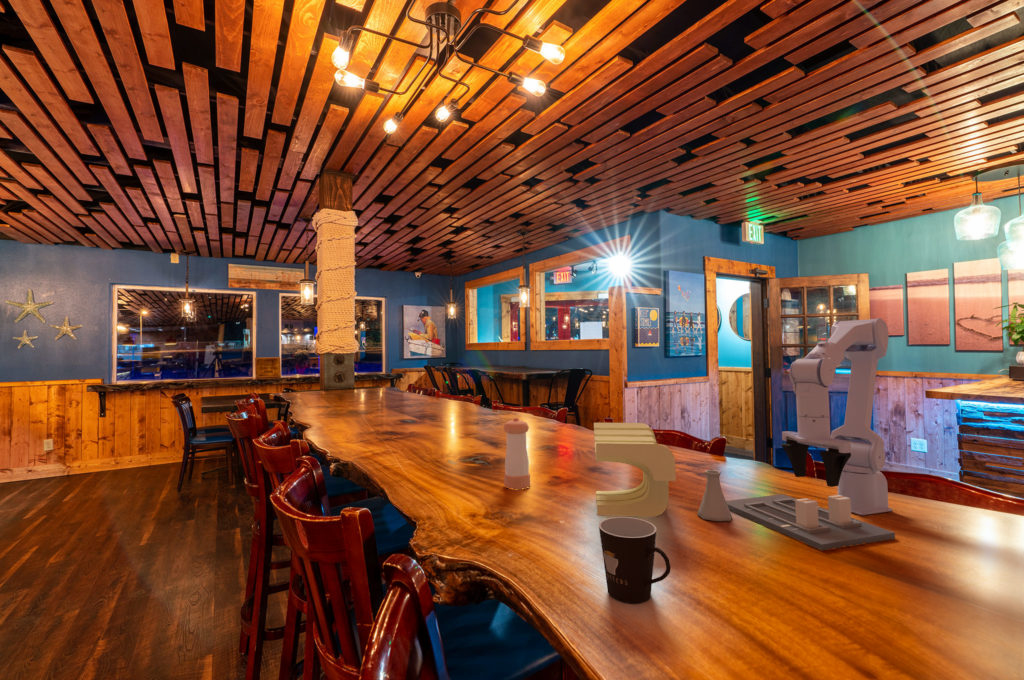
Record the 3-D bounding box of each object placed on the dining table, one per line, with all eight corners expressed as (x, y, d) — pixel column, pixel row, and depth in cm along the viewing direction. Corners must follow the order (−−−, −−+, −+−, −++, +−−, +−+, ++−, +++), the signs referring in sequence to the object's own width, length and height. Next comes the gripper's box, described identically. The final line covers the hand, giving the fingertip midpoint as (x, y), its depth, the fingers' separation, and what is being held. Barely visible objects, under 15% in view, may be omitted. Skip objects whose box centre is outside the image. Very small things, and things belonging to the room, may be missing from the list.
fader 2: (840, 519, 96) (839, 494, 96) (851, 523, 93) (850, 497, 93) (828, 520, 95) (827, 495, 95) (840, 524, 92) (838, 499, 93)
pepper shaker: (530, 490, 125) (529, 419, 126) (503, 490, 125) (502, 419, 126) (529, 482, 132) (528, 415, 133) (504, 483, 132) (503, 416, 133)
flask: (736, 523, 98) (734, 476, 98) (700, 521, 99) (698, 475, 100) (727, 512, 105) (726, 468, 105) (694, 510, 107) (692, 467, 107)
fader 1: (807, 522, 94) (806, 497, 94) (818, 527, 91) (817, 501, 92) (796, 524, 93) (795, 499, 93) (806, 528, 91) (805, 502, 91)
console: (782, 499, 114) (782, 491, 114) (895, 538, 88) (894, 529, 89) (721, 506, 109) (721, 499, 109) (822, 551, 84) (821, 541, 84)
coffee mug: (594, 580, 74) (592, 518, 75) (645, 577, 75) (644, 515, 75) (616, 622, 63) (614, 547, 63) (677, 618, 63) (675, 544, 64)
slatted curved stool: (677, 531, 94) (674, 444, 95) (598, 528, 97) (596, 443, 97) (655, 489, 124) (653, 422, 124) (595, 487, 126) (593, 422, 127)
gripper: (769, 412, 102) (772, 474, 102) (829, 421, 88) (833, 492, 88) (795, 410, 104) (798, 471, 104) (858, 419, 90) (861, 489, 90)
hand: (815, 481), depth 96 cm, fingers open, 7 cm apart
